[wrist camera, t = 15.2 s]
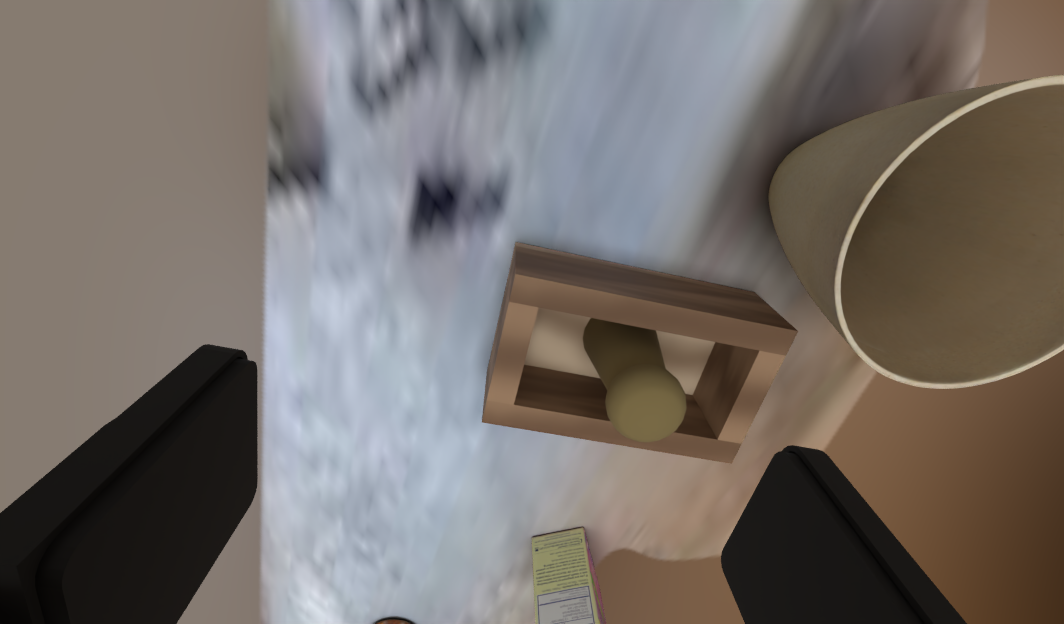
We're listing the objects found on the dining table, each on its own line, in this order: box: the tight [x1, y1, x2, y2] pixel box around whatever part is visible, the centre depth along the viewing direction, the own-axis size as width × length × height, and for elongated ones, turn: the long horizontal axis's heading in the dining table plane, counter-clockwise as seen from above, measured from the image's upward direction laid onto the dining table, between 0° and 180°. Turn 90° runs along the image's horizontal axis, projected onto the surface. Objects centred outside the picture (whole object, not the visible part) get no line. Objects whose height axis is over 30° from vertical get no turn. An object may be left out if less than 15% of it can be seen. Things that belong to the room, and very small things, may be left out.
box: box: [532, 527, 606, 624], centre depth 49 cm, size 10×6×12 cm, turn 13°
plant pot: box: [768, 75, 1064, 389], centre depth 30 cm, size 15×15×16 cm
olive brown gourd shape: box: [583, 318, 687, 442], centre depth 36 cm, size 6×6×11 cm
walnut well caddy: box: [482, 242, 798, 464], centre depth 39 cm, size 12×20×7 cm, turn 77°
